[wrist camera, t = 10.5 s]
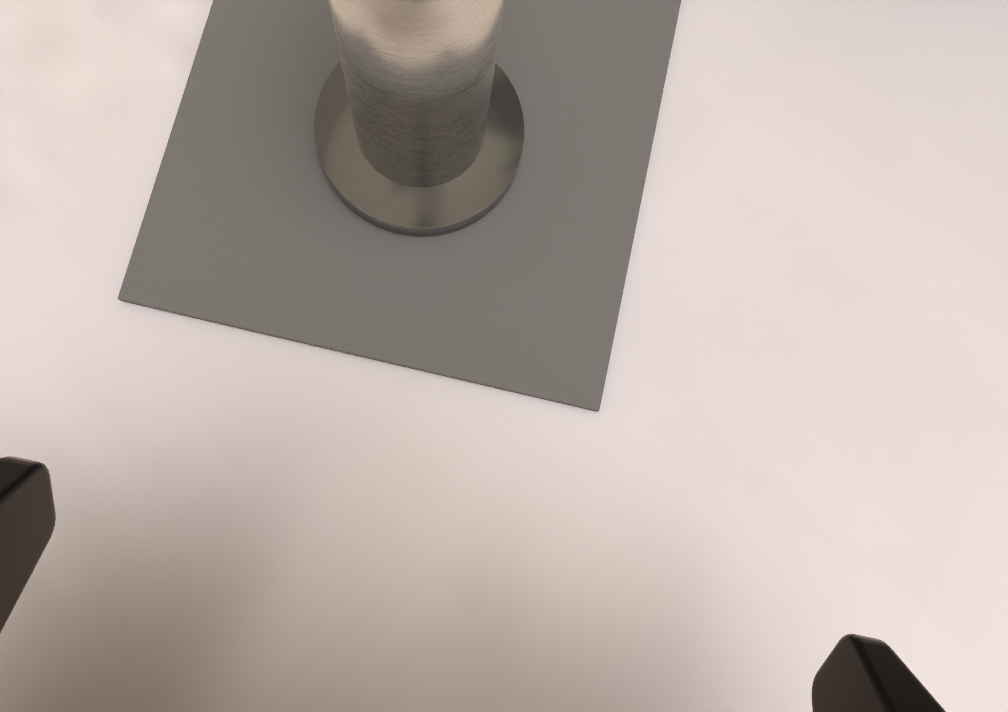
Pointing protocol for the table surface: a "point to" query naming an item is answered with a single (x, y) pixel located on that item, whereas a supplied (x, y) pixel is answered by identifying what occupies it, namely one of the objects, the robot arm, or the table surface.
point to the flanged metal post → (419, 114)
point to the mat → (399, 258)
